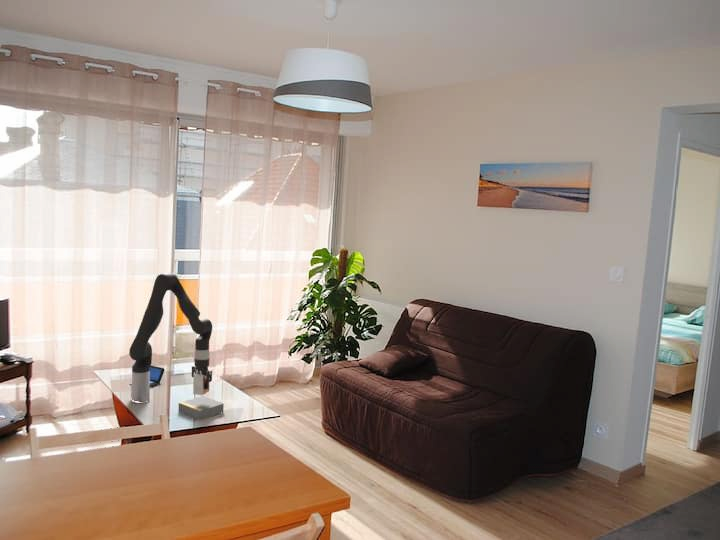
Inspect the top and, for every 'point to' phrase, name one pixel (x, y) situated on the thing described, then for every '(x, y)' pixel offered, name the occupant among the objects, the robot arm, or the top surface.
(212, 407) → the loading dock
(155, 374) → the laptop
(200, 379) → the small box
